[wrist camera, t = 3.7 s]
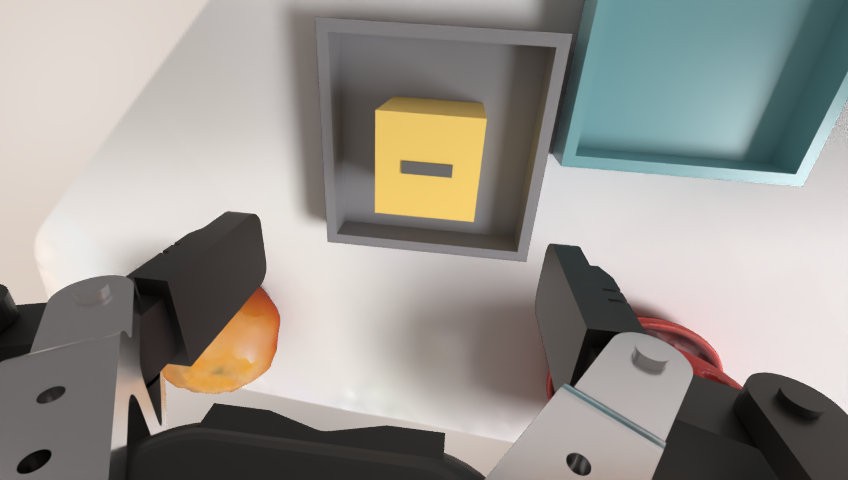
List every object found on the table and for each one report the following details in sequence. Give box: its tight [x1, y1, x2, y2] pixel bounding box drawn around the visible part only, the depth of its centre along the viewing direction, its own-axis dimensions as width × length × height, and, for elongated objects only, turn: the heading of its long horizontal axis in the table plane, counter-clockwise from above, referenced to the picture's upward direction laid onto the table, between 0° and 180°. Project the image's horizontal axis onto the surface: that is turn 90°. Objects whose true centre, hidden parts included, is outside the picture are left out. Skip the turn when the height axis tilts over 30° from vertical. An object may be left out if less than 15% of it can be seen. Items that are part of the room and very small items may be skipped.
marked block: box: [375, 96, 487, 222], centre depth 21 cm, size 5×5×5 cm
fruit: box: [162, 287, 280, 394], centre depth 28 cm, size 8×8×8 cm
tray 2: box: [553, 0, 848, 187], centre depth 19 cm, size 12×12×2 cm
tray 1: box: [315, 17, 573, 262], centre depth 23 cm, size 12×12×2 cm
